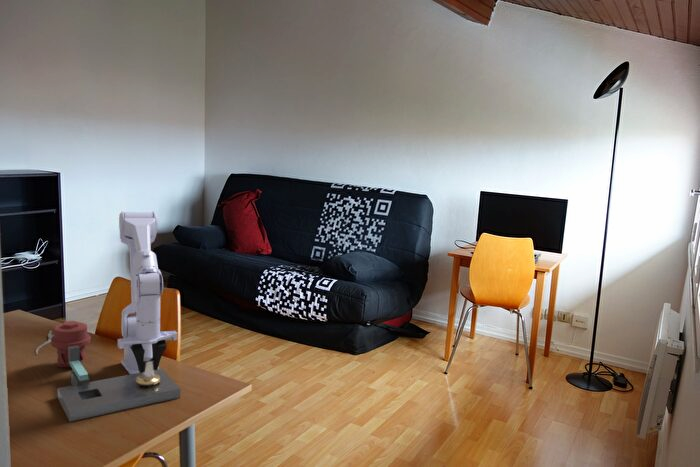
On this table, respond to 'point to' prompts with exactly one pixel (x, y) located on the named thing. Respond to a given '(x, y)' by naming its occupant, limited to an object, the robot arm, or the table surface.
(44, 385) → the table surface
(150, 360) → the gold disc with post
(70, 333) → the mechanical component
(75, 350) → the locking bolt
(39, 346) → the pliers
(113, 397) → the block
